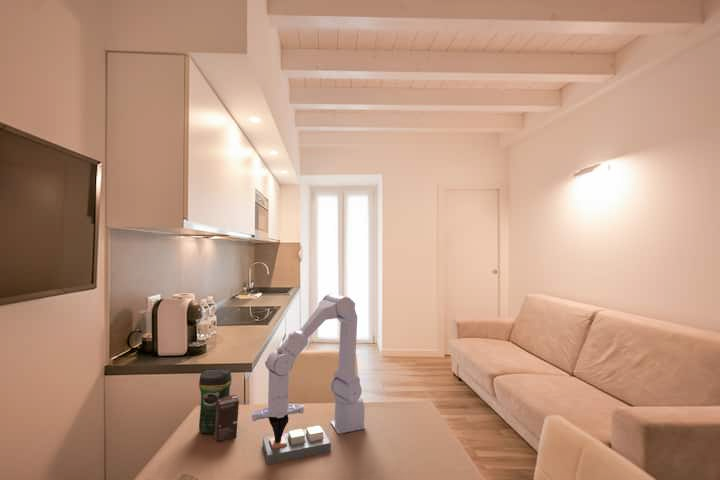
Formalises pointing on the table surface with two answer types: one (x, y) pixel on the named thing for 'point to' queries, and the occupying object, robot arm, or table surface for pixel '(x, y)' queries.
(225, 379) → the coffee jar
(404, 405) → the table surface
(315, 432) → the cream key
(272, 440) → the terracotta key
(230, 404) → the box
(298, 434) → the sage key
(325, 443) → the keypad
